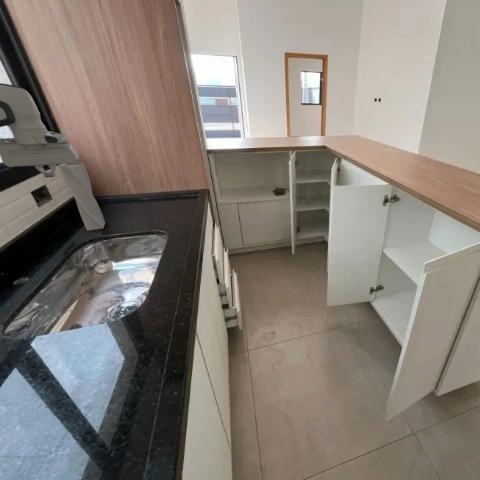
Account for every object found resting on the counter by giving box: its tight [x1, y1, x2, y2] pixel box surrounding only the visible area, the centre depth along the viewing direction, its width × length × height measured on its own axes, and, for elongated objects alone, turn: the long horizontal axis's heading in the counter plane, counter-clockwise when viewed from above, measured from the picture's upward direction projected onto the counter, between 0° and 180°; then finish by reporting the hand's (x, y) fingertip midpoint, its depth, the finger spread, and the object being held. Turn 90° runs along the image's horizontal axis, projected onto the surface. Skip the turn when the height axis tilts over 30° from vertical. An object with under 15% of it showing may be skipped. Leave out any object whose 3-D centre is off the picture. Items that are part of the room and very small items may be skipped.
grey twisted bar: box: [56, 161, 107, 231], centre depth 105 cm, size 8×8×28 cm
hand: (50, 176), depth 98 cm, fingers closed
